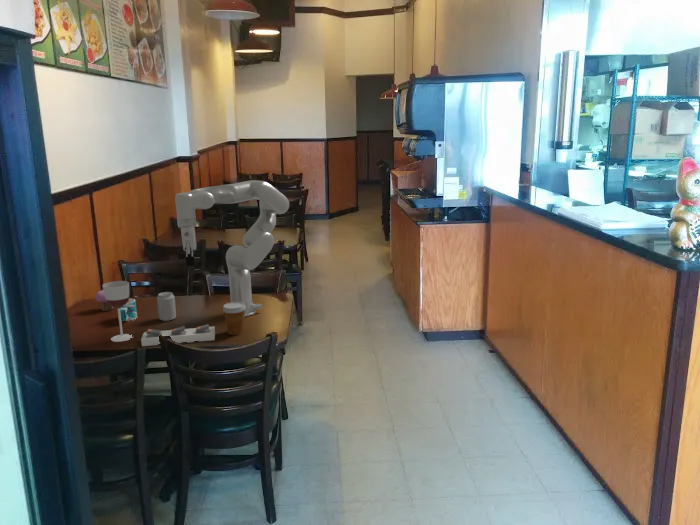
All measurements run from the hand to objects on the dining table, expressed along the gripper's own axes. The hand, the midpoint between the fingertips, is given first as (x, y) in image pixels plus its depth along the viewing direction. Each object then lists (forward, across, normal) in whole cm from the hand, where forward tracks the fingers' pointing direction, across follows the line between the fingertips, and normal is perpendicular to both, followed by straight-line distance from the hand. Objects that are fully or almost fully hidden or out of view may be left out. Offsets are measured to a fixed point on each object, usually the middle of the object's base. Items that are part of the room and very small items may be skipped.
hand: (190, 265), depth 242 cm
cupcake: (+27, +33, +43) cm, 61 cm away
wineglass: (+27, -8, +29) cm, 40 cm away
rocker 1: (+22, -17, +15) cm, 32 cm away
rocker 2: (+22, -17, -4) cm, 28 cm away
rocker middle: (+22, -17, +6) cm, 29 cm away
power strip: (+27, -16, +6) cm, 32 cm away
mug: (+27, +15, +31) cm, 44 cm away
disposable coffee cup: (+27, -13, -17) cm, 35 cm away
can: (+27, +12, +13) cm, 32 cm away
